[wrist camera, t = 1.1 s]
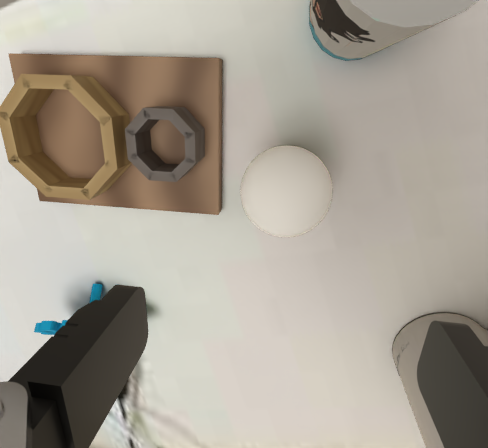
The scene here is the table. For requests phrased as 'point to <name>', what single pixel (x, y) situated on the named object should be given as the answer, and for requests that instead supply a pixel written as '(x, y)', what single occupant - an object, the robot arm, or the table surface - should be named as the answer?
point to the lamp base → (117, 130)
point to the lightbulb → (286, 191)
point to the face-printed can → (374, 23)
